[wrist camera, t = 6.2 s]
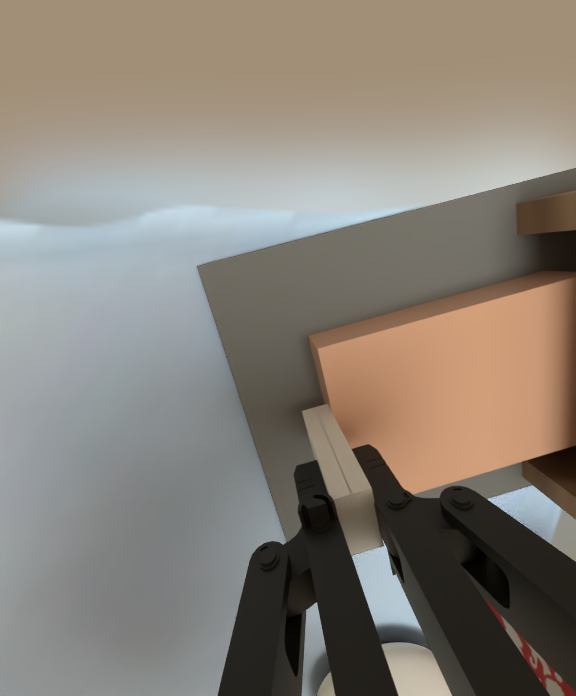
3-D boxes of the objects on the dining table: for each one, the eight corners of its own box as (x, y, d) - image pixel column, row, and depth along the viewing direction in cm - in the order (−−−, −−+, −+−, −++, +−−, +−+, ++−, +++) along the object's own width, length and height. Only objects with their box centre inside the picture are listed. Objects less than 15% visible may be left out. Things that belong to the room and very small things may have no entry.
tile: (342, 480, 20) (355, 511, 18) (307, 335, 17) (317, 348, 15) (544, 420, 21) (584, 442, 18) (544, 270, 18) (591, 272, 15)
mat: (291, 552, 22) (291, 557, 21) (198, 265, 16) (196, 266, 16) (657, 442, 23) (664, 445, 23) (697, 136, 17) (708, 133, 17)
